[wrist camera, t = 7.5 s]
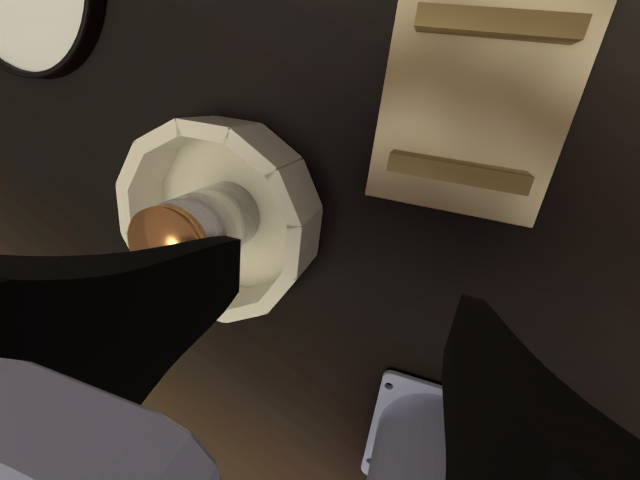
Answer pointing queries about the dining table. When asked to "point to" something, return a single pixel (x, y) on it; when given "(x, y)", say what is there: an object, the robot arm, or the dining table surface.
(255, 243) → the cup
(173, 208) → the cylinder
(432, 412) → the robot arm
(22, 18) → the magnifying glass
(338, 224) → the dining table surface
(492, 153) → the checker cradle
